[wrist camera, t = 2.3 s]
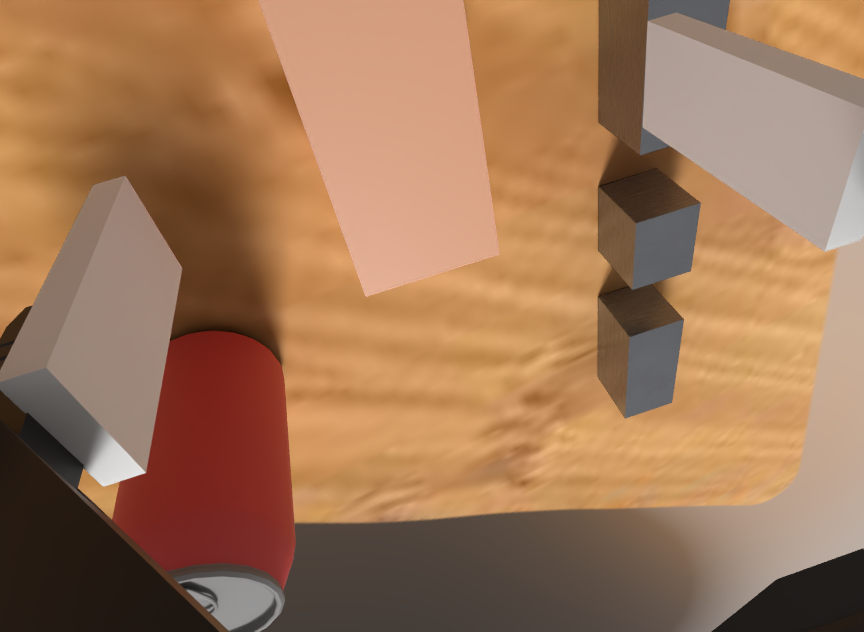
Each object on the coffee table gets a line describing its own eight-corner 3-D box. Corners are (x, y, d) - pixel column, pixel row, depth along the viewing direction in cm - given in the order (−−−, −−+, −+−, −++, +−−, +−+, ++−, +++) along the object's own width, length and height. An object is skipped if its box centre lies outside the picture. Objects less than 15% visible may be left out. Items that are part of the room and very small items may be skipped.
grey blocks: (599, -61, 20) (651, -47, 18) (676, -83, 20) (740, -73, 18) (597, 377, 36) (625, 418, 34) (641, 362, 36) (671, 402, 34)
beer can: (258, 307, 26) (264, 543, 18) (299, 398, 31) (321, 624, 22) (116, 345, 26) (46, 609, 17) (178, 432, 30) (149, 679, 21)
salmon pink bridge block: (233, -113, 17) (225, -90, 11) (374, -151, 17) (442, -149, 11) (335, 182, 24) (365, 296, 18) (436, 151, 24) (499, 254, 18)
